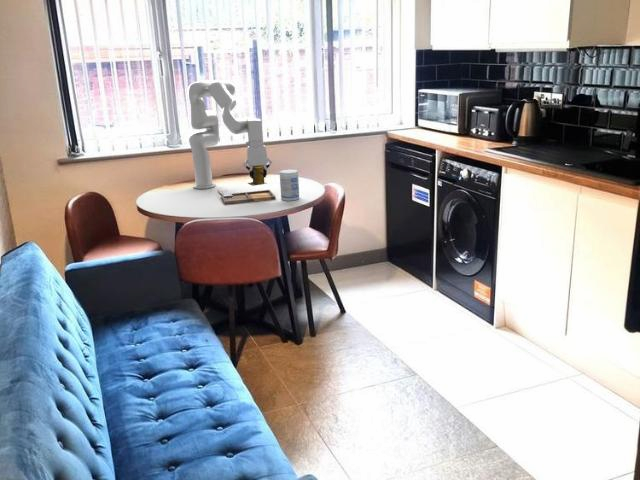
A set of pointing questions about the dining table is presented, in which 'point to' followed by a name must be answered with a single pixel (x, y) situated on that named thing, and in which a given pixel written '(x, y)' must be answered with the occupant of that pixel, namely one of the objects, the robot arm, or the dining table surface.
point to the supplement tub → (289, 185)
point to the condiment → (258, 176)
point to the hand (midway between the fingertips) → (258, 177)
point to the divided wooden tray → (249, 197)
